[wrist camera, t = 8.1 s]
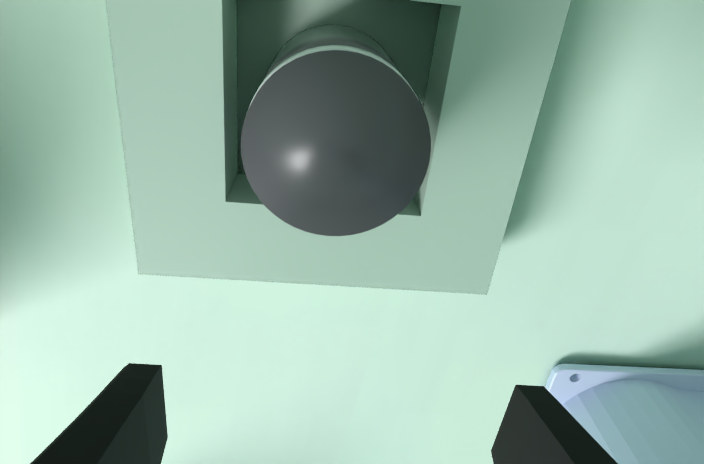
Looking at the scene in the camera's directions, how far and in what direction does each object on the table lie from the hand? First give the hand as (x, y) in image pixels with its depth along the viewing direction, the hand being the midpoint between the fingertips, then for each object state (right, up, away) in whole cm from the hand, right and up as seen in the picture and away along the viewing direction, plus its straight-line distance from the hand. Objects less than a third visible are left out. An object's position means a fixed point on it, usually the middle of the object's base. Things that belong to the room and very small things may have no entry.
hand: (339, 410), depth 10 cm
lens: (0, +8, +6) cm, 10 cm away
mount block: (0, +8, +6) cm, 10 cm away
